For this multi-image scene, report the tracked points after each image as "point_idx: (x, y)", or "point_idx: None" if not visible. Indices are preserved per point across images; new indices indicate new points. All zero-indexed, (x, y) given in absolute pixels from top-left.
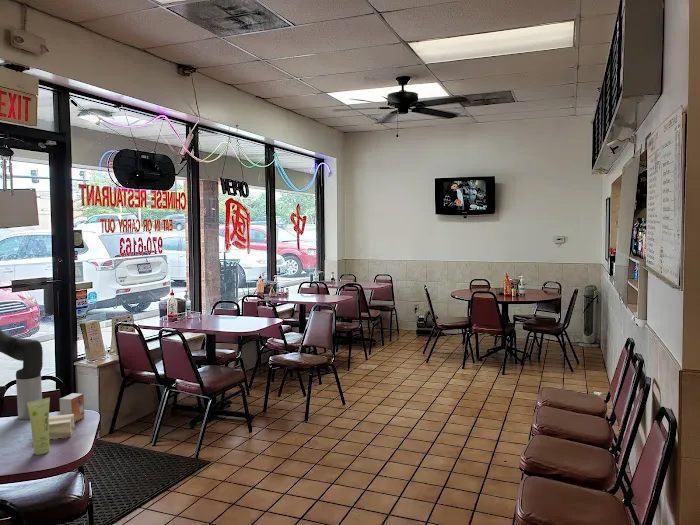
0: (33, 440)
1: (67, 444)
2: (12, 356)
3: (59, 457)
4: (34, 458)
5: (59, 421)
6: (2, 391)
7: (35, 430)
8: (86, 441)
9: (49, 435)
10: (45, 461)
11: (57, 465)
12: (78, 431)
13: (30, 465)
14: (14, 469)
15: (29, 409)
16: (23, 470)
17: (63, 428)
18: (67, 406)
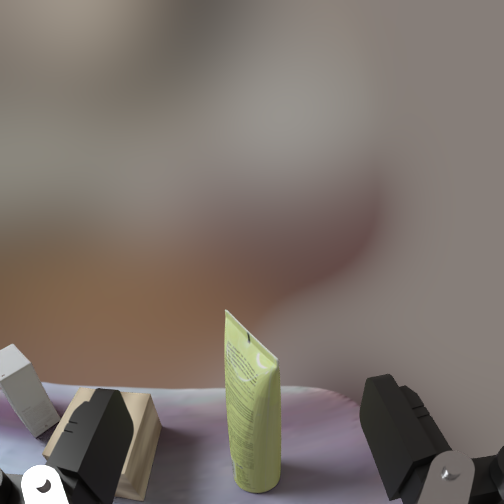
0: (273, 466)
1: (215, 428)
2: None
3: (312, 427)
4: (305, 482)
5: None
6: (127, 440)
7: (280, 435)
8: (213, 395)
9: (146, 461)
10: (335, 448)
11: None
12: None
13: (359, 473)
14: (385, 499)
15: (279, 383)
16: None
17: (150, 419)
18: (30, 387)
